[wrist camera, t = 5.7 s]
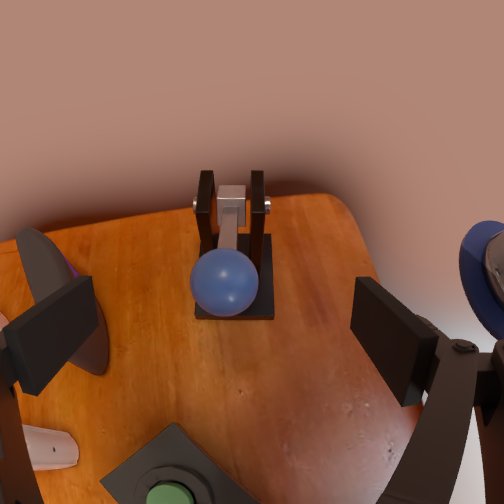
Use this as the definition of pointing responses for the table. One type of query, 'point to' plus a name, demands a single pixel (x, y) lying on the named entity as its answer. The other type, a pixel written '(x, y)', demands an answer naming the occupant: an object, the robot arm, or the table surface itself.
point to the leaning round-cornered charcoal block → (51, 279)
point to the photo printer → (50, 448)
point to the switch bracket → (239, 243)
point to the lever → (226, 261)
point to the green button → (169, 494)
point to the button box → (175, 472)
